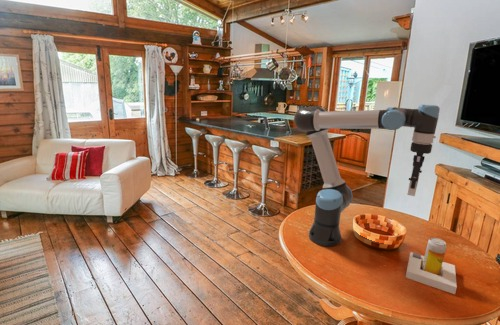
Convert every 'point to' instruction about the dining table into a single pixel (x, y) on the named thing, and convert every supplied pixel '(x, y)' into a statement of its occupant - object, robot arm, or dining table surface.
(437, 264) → the beer can
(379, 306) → the dining table surface
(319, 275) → the dining table surface
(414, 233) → the dining table surface
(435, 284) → the socket plate
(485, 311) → the dining table surface
